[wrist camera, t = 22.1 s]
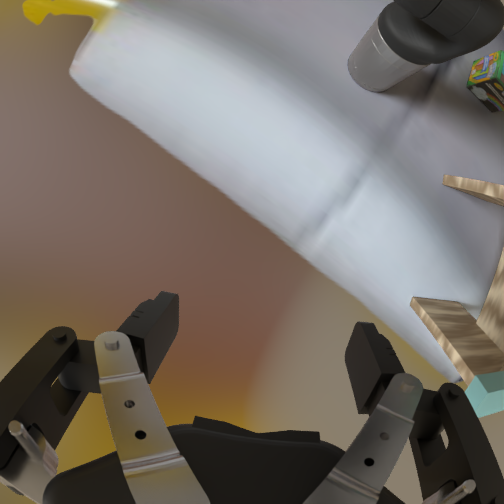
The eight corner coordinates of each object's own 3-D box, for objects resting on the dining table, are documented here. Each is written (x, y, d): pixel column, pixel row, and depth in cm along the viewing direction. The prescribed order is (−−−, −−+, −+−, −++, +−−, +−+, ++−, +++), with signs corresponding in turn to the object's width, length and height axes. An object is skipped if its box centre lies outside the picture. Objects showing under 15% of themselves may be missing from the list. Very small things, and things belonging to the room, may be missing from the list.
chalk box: (498, 86, 33) (539, 78, 19) (491, 113, 36) (535, 110, 22) (472, 59, 33) (511, 44, 19) (464, 86, 36) (507, 74, 22)
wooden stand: (444, 174, 43) (583, 209, 10) (488, 192, 42) (606, 235, 10) (409, 304, 52) (489, 422, 19) (454, 309, 51) (533, 404, 19)
